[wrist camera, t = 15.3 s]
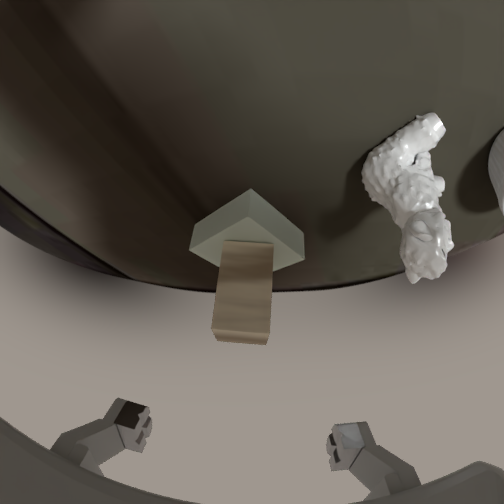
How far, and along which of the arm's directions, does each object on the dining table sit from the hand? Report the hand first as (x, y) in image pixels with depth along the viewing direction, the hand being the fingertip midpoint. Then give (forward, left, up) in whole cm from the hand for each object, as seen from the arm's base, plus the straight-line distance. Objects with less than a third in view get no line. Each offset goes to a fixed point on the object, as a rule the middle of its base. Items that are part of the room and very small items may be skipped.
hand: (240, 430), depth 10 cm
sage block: (+8, +10, -21) cm, 24 cm away
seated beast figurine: (-10, +7, -21) cm, 24 cm away
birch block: (+7, +10, -17) cm, 21 cm away
